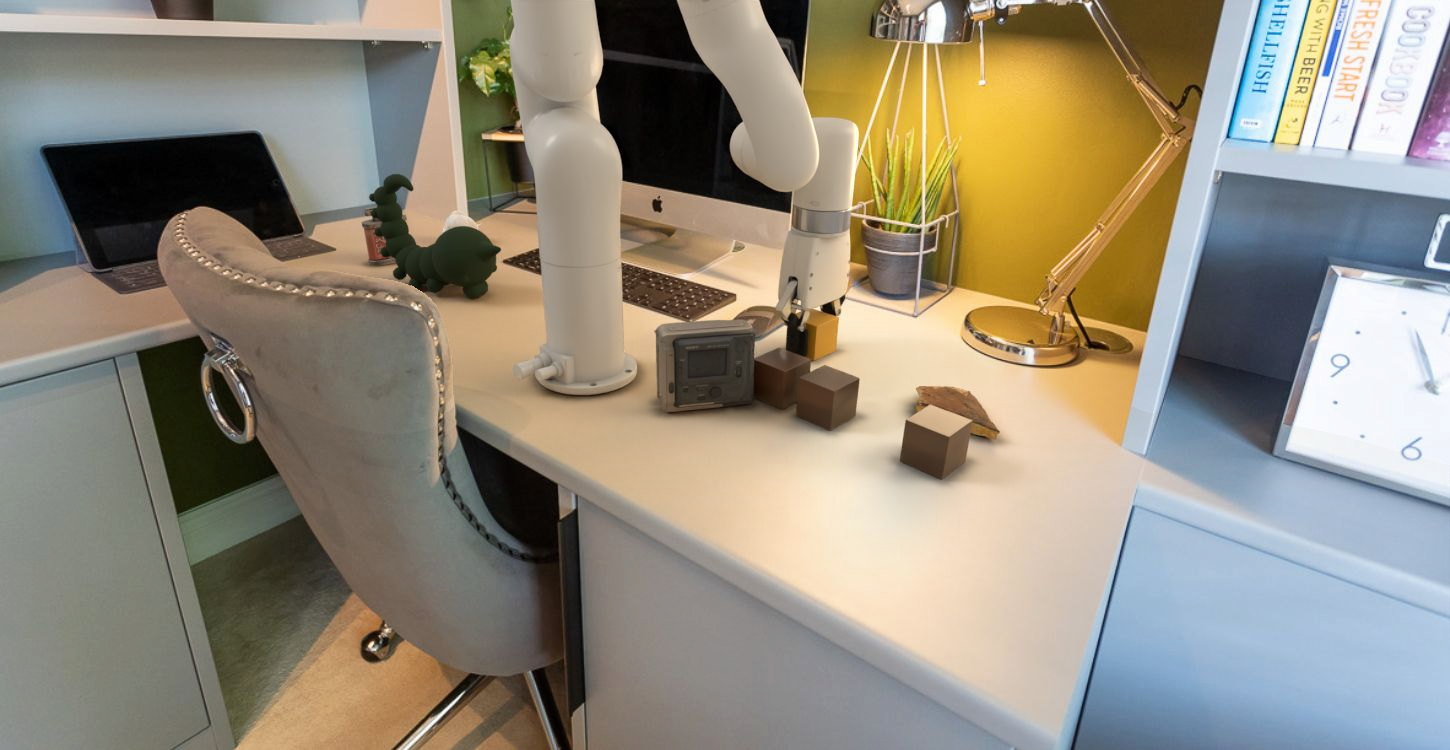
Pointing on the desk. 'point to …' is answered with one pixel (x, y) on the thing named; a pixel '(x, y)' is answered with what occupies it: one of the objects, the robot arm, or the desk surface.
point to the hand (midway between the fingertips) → (811, 346)
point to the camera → (704, 364)
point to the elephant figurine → (459, 221)
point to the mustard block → (820, 334)
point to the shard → (958, 407)
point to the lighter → (375, 240)
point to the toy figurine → (433, 248)
